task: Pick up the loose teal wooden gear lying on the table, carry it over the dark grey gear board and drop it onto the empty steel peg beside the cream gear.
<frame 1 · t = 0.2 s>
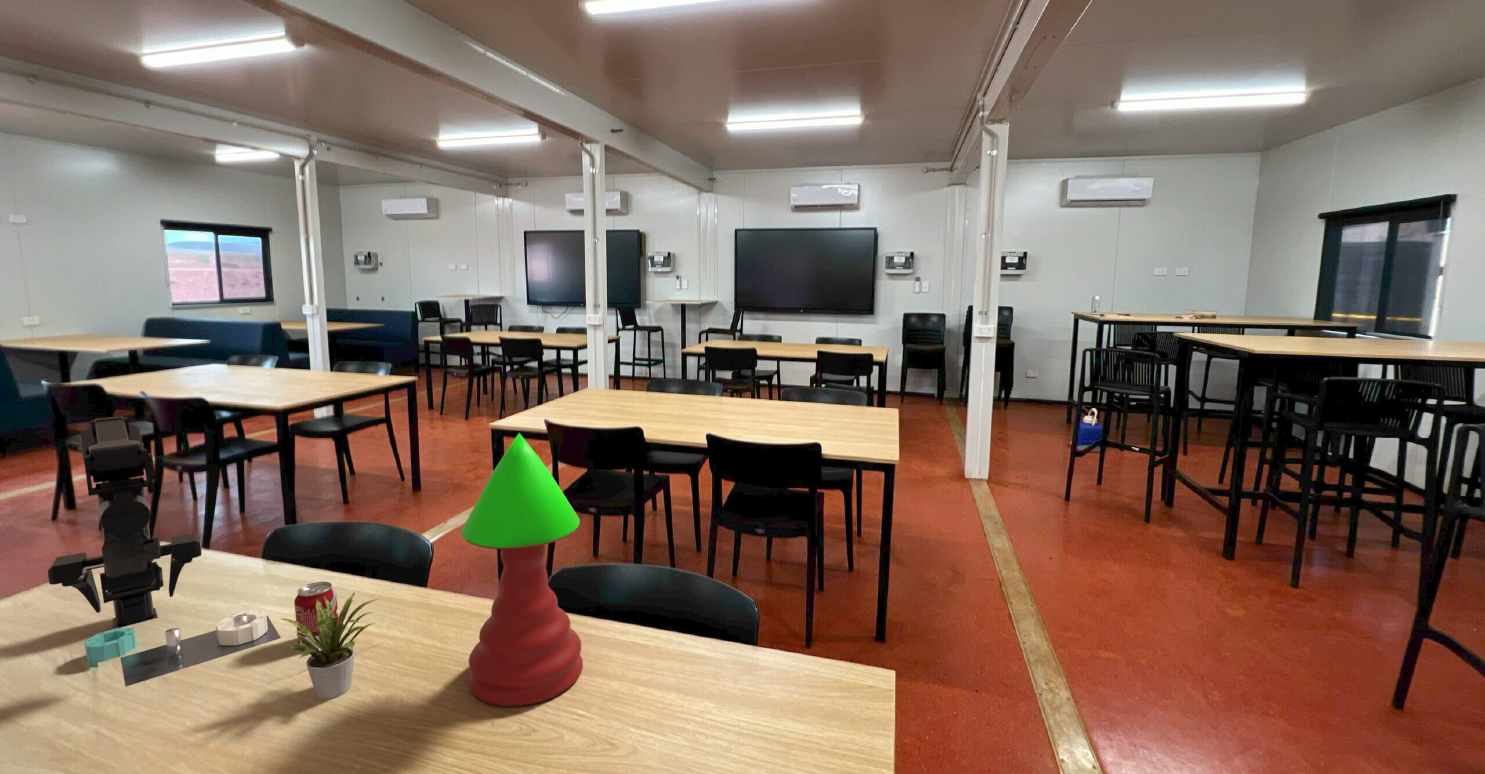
hand: (136, 603, 113), 14 cm above the table, fingers open, 9 cm apart
house plant: (342, 690, 113), on the table
cream gear: (242, 627, 127), point 3 cm above the table, hinge at 0.0°
teal gear: (112, 656, 121), on the table
soda can: (320, 646, 126), on the table
gear board: (204, 653, 123), on the table
table lamp: (527, 674, 119), on the table
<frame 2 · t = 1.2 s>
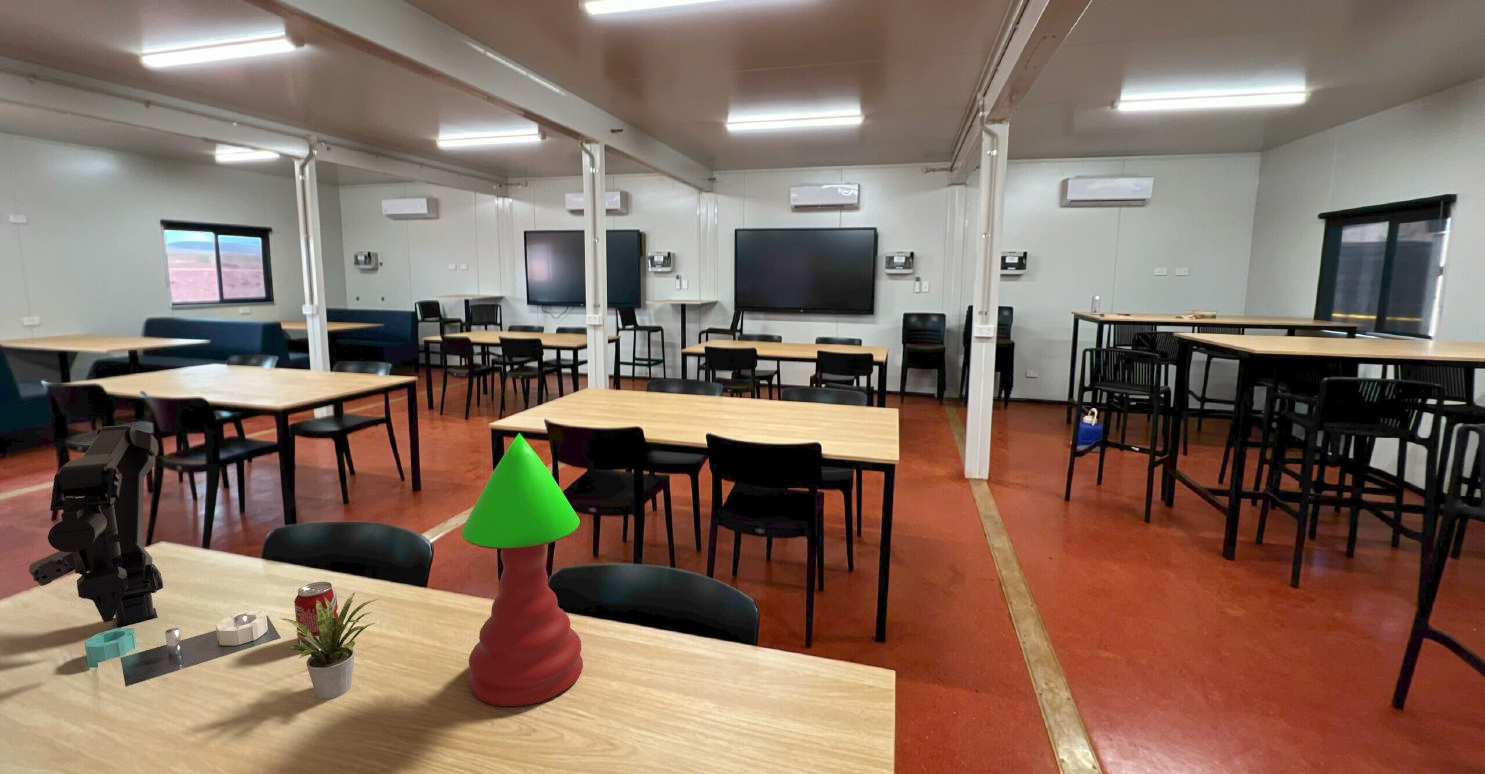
hand: (106, 611, 120), 9 cm above the table, fingers open, 9 cm apart
nothing on the table moved.
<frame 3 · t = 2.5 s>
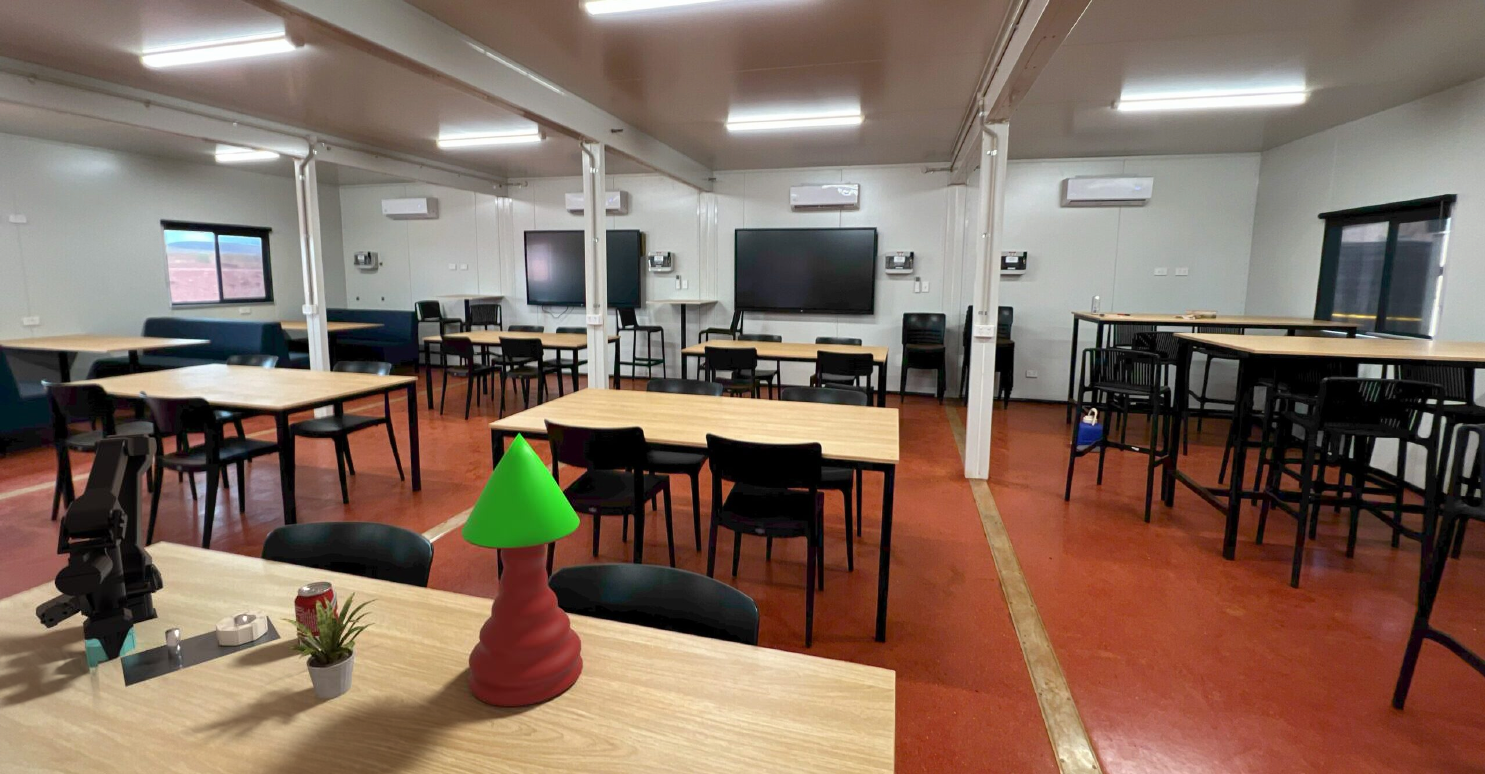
hand: (112, 651, 121), 1 cm above the table, fingers closed on teal gear, 7 cm apart
teal gear: (112, 656, 121), on the table, touching gripper
everything else where it was.
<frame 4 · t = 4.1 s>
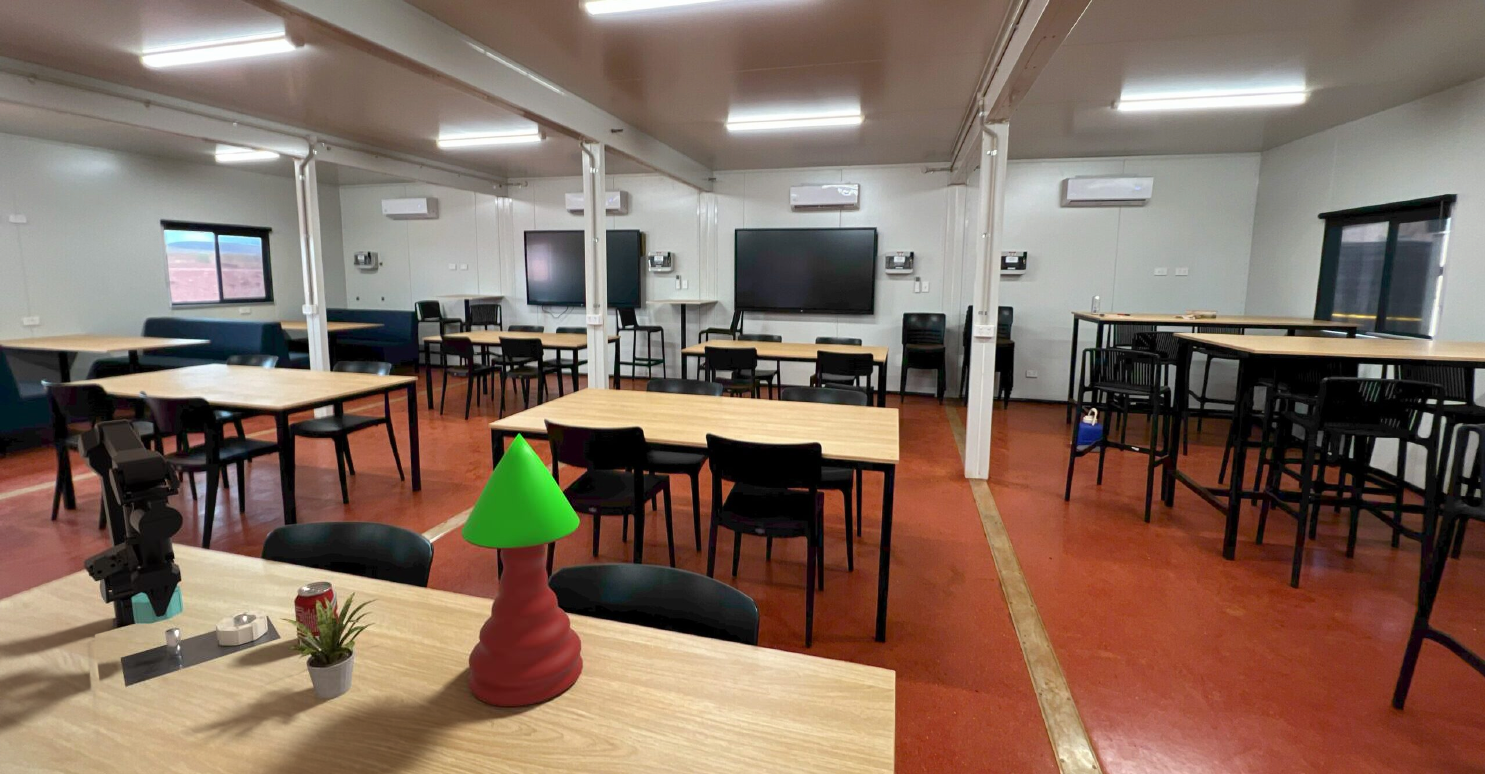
hand: (159, 609, 118), 10 cm above the table, fingers closed on teal gear, 7 cm apart
teal gear: (159, 614, 118), point 9 cm above the table, touching gripper
everything else where it was.
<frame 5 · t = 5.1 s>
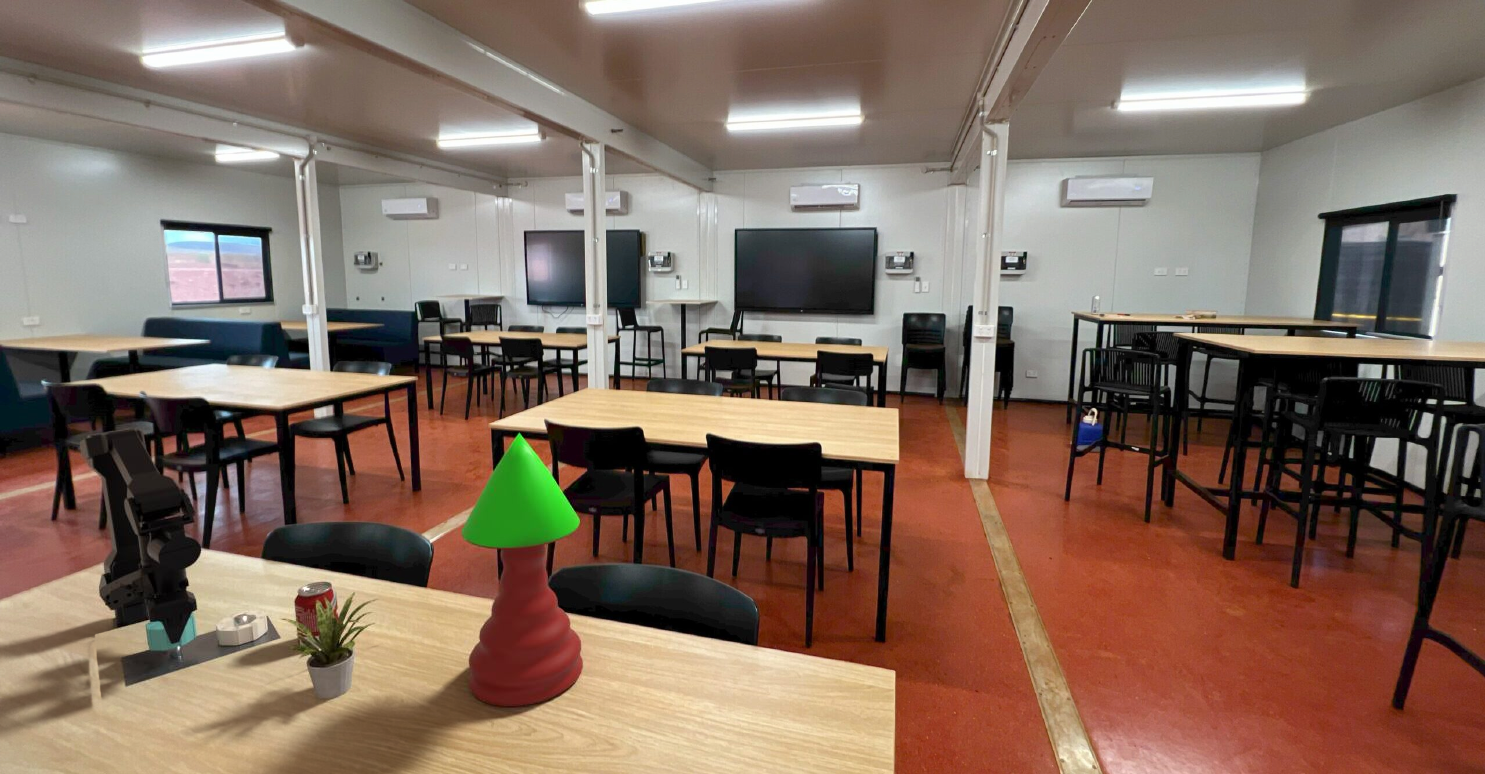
hand: (172, 635, 119), 5 cm above the table, fingers closed on teal gear, 7 cm apart
teal gear: (172, 640, 119), point 4 cm above the table, touching gripper
everything else where it was.
when the fingers open (3 cm above the table, at t = 5.9 s): teal gear drops 1 cm, resting on gear board.
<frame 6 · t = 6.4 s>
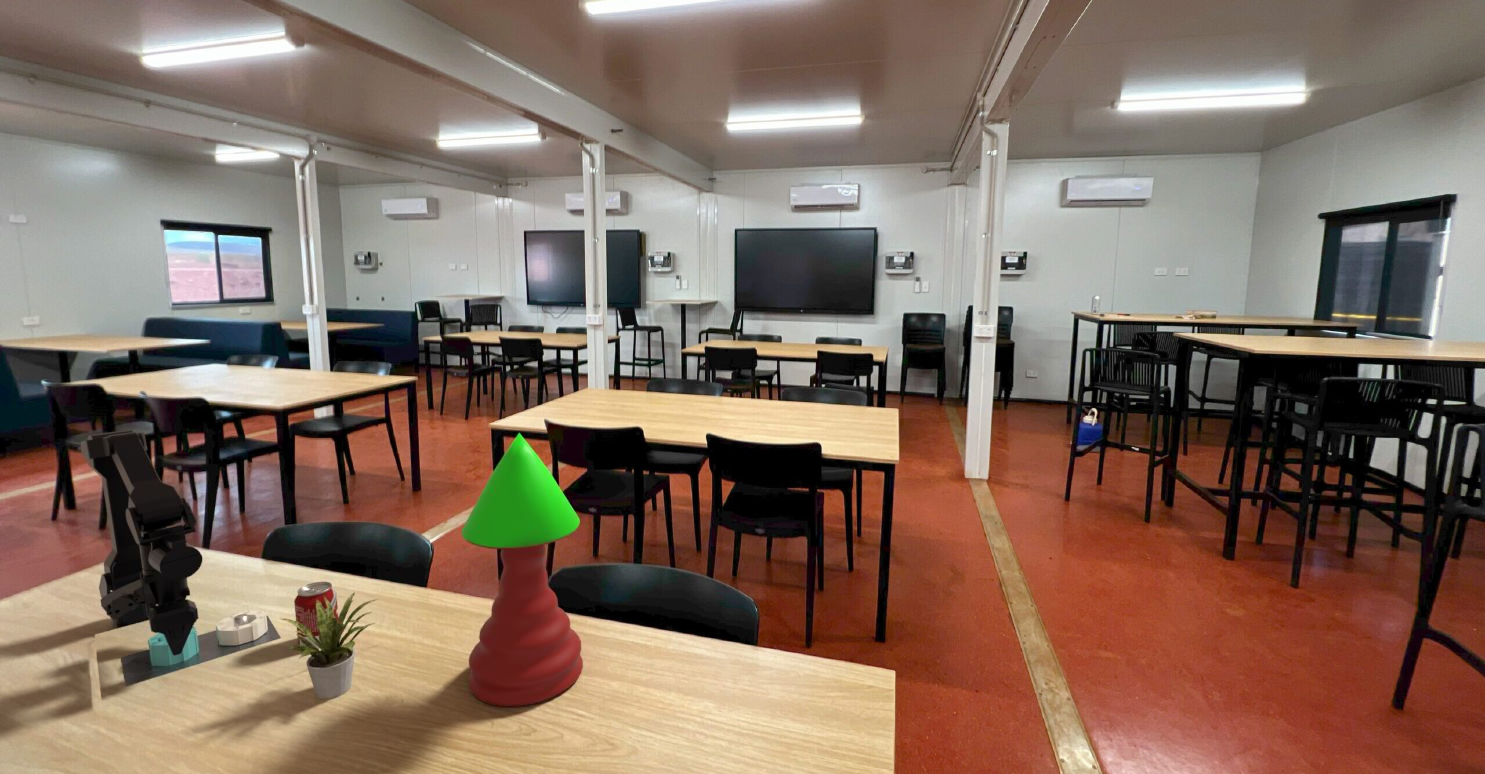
hand: (173, 644, 119), 3 cm above the table, fingers open, 9 cm apart
teal gear: (175, 655, 120), point 1 cm above the table, touching gear board
everything else where it was.
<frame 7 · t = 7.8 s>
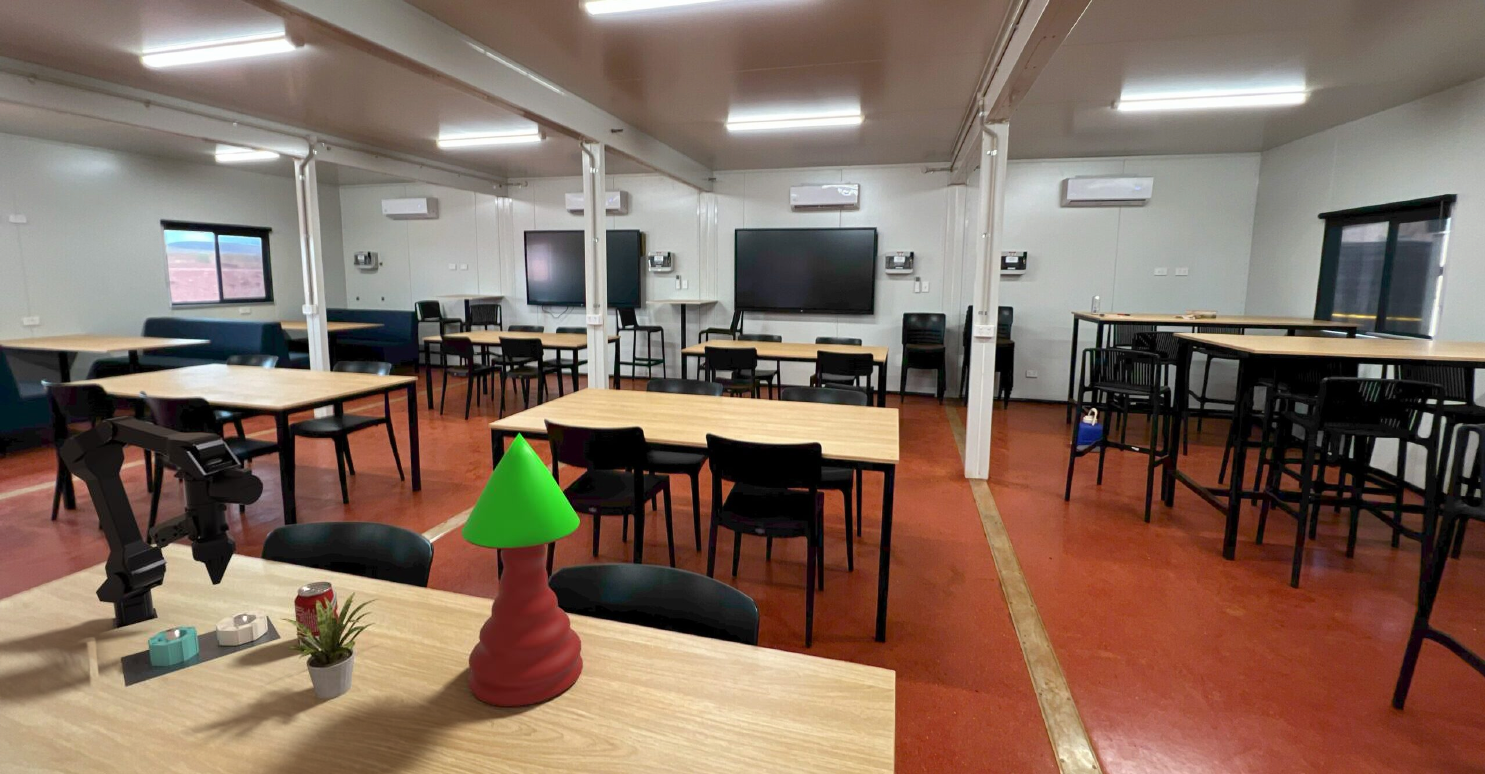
hand: (213, 575, 128), 12 cm above the table, fingers open, 9 cm apart
nothing on the table moved.
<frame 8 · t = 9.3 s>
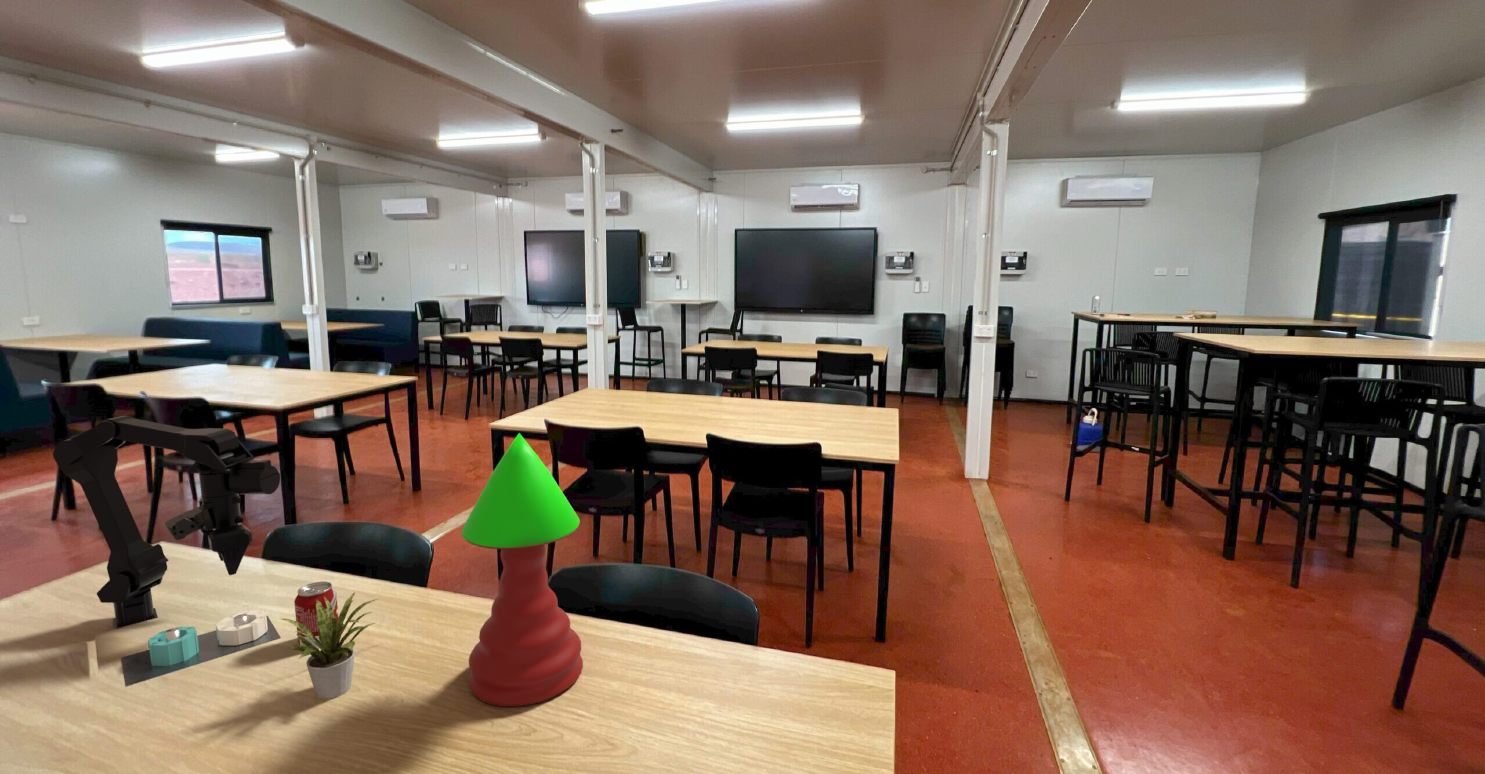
hand: (228, 567, 132), 12 cm above the table, fingers open, 9 cm apart
nothing on the table moved.
at the end: teal gear 0.1 cm from the target spot on the gear board, point 1.2 cm above the gear board's base; teal gear tilted 0°; the gripper is holding nothing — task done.
